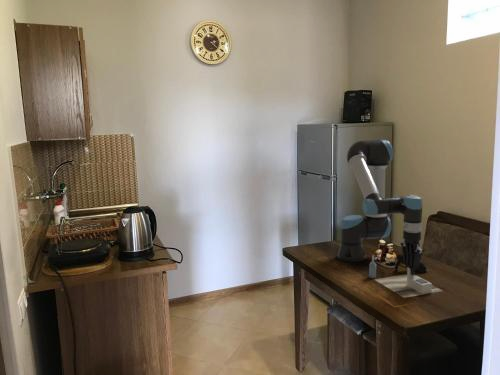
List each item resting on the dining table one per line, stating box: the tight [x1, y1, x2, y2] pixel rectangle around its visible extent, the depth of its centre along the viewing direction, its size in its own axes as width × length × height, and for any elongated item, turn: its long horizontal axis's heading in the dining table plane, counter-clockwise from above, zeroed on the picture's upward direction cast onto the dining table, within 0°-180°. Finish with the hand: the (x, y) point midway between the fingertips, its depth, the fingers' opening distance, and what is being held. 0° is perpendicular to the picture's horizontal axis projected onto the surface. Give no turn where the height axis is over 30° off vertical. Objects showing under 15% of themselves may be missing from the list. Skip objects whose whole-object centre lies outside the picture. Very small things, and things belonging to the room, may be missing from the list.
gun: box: [394, 253, 429, 273], centre depth 202 cm, size 3×16×10 cm, turn 79°
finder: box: [407, 275, 433, 295], centre depth 180 cm, size 10×5×4 cm, turn 16°
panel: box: [373, 273, 443, 299], centre depth 185 cm, size 22×20×1 cm
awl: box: [368, 255, 377, 279], centre depth 195 cm, size 3×3×11 cm
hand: (410, 280), depth 186 cm, fingers closed
